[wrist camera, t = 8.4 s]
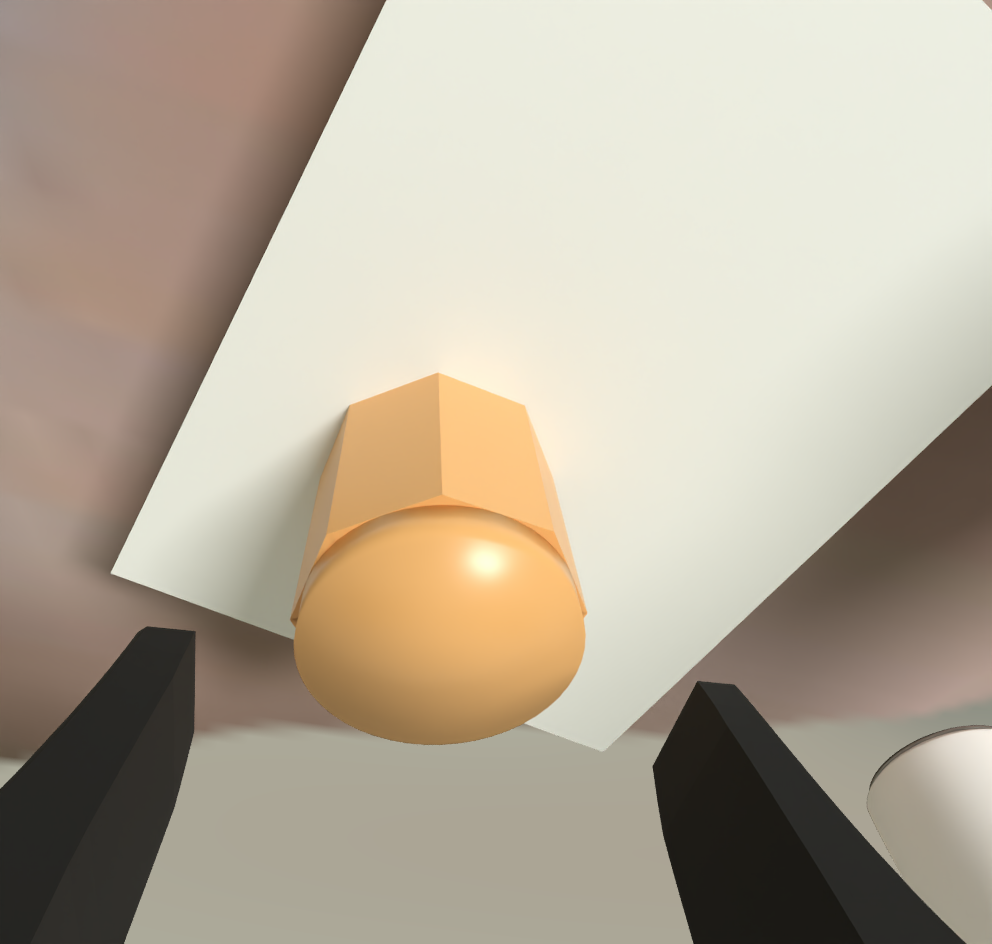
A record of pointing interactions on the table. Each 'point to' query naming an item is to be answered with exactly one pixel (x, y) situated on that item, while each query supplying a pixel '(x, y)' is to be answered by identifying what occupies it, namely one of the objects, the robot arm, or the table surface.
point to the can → (942, 824)
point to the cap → (437, 570)
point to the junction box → (616, 298)
